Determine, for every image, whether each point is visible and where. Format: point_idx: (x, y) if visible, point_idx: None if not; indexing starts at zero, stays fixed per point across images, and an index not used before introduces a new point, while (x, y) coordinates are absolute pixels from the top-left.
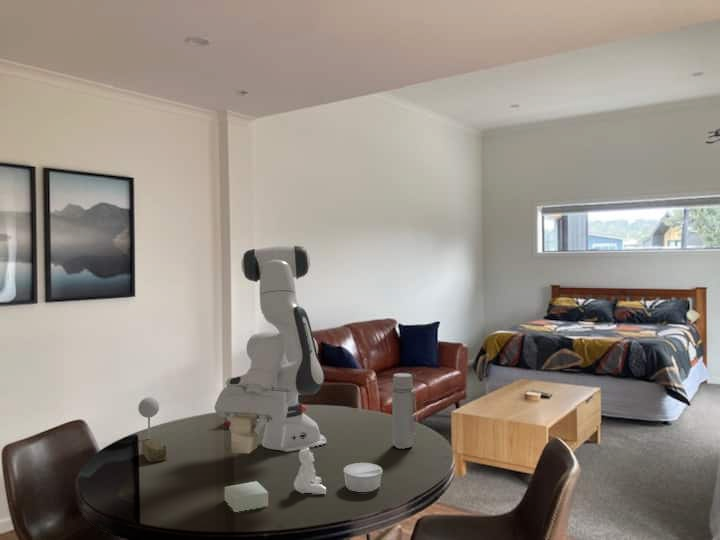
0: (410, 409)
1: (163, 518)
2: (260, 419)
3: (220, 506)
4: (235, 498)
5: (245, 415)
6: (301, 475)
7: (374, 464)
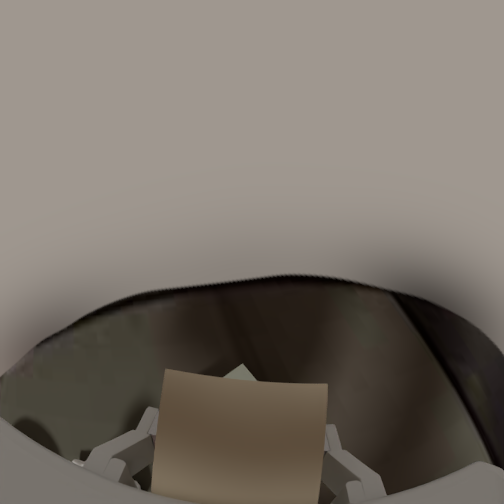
0: None
1: (367, 317)
2: (119, 462)
3: None
4: (241, 365)
5: (234, 474)
6: None
7: None
